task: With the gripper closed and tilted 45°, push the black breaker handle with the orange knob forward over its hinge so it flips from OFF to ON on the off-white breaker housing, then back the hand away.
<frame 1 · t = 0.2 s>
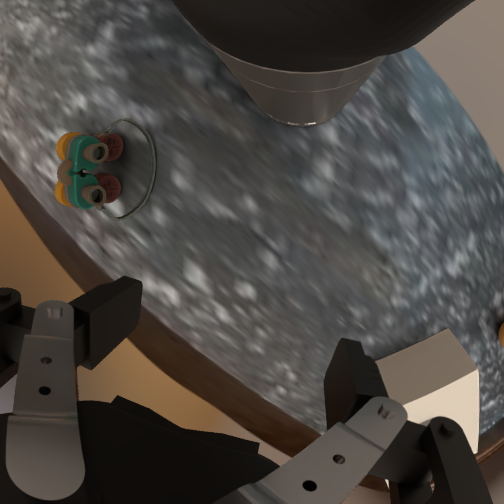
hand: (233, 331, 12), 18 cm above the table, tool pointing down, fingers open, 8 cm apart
breaker housing: (413, 396, 32), on the table
figurine: (501, 320, 28), on the table
binoculars: (120, 167, 29), on the table
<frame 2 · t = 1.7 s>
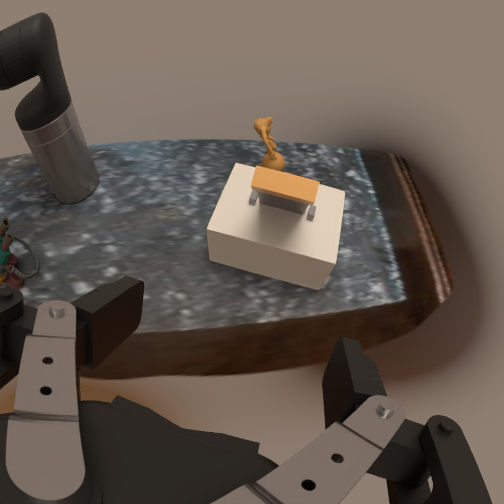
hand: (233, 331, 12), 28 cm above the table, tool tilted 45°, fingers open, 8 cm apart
breaker housing: (273, 240, 47), on the table
figurine: (266, 172, 54), on the table
binoculars: (19, 273, 41), on the table
breaker handle: (283, 196, 34), point 14 cm above the table, hinge at -30.0°
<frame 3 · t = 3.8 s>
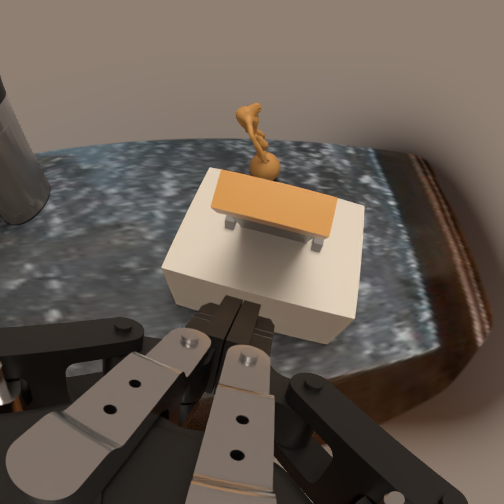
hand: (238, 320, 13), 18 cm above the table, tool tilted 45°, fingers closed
breaker housing: (265, 275, 34), on the table
figurine: (256, 179, 42), on the table
breaker handle: (274, 218, 21), point 14 cm above the table, hinge at -30.0°
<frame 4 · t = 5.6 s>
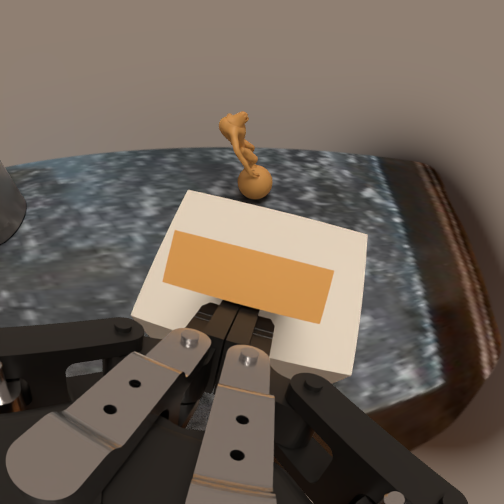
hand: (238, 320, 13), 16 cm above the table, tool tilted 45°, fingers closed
breaker housing: (253, 309, 30), on the table
figurine: (245, 195, 38), on the table
breaker handle: (256, 271, 17), point 14 cm above the table, hinge at -29.8°, touching gripper
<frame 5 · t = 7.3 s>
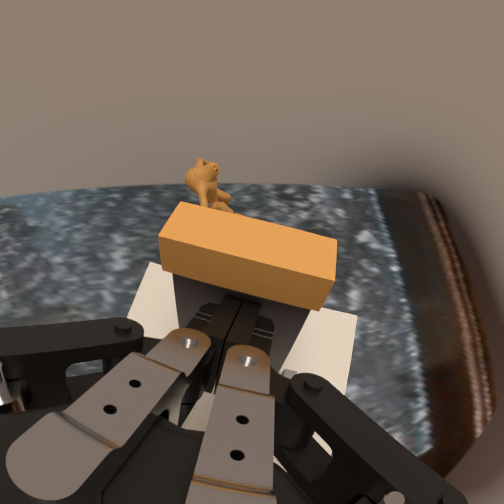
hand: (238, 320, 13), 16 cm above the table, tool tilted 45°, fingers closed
breaker housing: (229, 382, 27), on the table
figurine: (224, 244, 34), on the table
breaker handle: (236, 326, 15), point 14 cm above the table, hinge at 14.6°, touching gripper
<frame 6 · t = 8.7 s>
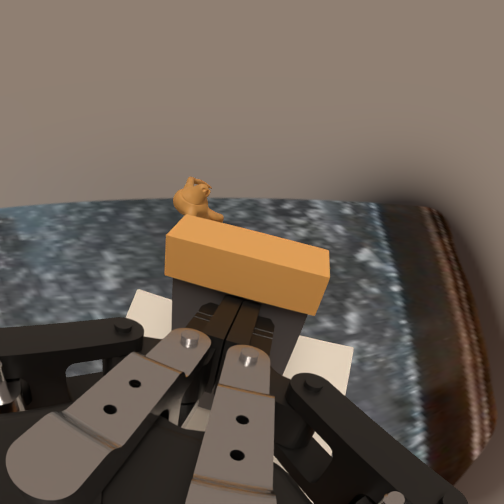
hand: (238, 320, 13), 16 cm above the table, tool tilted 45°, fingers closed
breaker housing: (222, 407, 25), on the table
figurine: (217, 264, 32), on the table
breaker handle: (229, 348, 15), point 14 cm above the table, hinge at 29.6°, touching gripper
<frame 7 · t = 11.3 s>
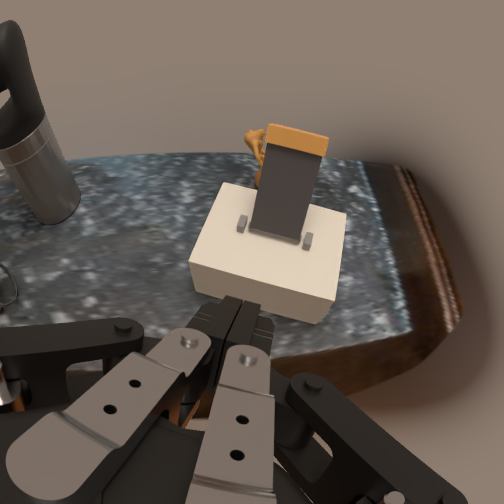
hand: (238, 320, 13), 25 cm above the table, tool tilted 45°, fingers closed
breaker housing: (266, 268, 42), on the table
figurine: (259, 189, 50), on the table
breaker handle: (286, 185, 32), point 14 cm above the table, hinge at 29.6°
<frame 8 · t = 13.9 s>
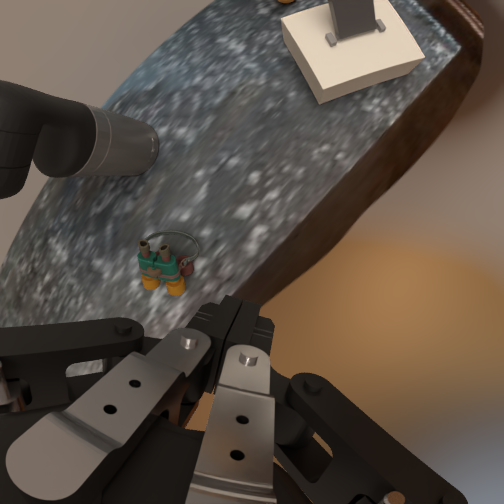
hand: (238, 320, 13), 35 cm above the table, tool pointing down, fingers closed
breaker housing: (347, 55, 39), on the table
figurine: (282, 2, 39), on the table
binoculars: (176, 256, 50), on the table
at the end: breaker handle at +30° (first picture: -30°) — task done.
